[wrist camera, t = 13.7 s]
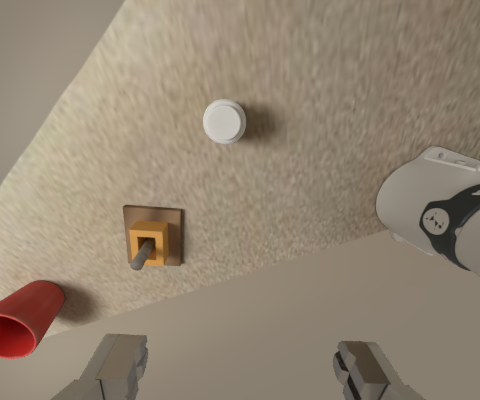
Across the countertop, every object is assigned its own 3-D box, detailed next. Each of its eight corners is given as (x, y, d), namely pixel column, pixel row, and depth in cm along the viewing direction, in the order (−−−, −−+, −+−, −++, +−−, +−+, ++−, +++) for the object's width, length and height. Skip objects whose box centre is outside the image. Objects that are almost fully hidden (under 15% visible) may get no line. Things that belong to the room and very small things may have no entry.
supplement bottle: (233, 94, 34) (234, 87, 24) (249, 128, 36) (255, 133, 26) (202, 112, 35) (191, 111, 25) (219, 144, 37) (215, 155, 27)
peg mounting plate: (181, 208, 40) (168, 233, 32) (181, 262, 45) (170, 297, 36) (125, 204, 40) (97, 229, 31) (130, 260, 44) (107, 294, 36)
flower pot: (84, 296, 47) (49, 340, 38) (52, 321, 49) (12, 367, 40) (39, 264, 44) (-10, 304, 35) (7, 292, 46) (-48, 336, 37)
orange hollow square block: (167, 222, 40) (162, 231, 37) (168, 254, 43) (163, 266, 39) (137, 220, 40) (129, 229, 37) (140, 253, 42) (132, 264, 39)
